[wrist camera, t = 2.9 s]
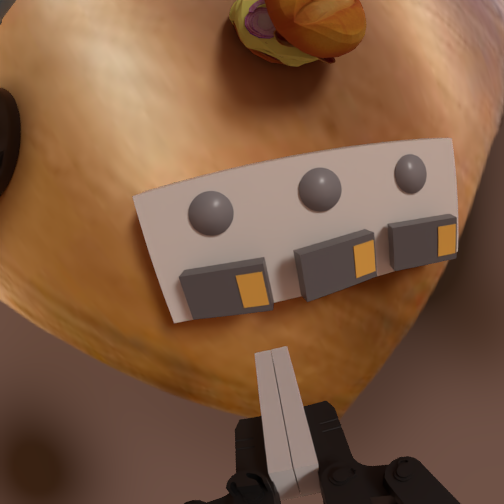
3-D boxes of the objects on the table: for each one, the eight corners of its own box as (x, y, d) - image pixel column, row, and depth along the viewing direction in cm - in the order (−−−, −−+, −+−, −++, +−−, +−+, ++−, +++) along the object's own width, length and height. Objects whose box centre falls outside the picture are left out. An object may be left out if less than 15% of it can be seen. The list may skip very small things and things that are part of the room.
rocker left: (197, 310, 25) (192, 320, 24) (184, 269, 24) (178, 277, 23) (273, 301, 24) (272, 310, 23) (264, 256, 23) (262, 264, 22)
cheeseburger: (241, -21, 20) (276, -72, 11) (331, 16, 23) (389, -14, 14) (212, 54, 22) (241, 11, 13) (313, 88, 26) (376, 72, 17)
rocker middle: (300, 295, 24) (307, 302, 23) (293, 250, 23) (300, 255, 22) (368, 271, 25) (377, 276, 24) (364, 228, 24) (374, 232, 23)
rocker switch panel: (180, 303, 30) (173, 324, 26) (146, 190, 26) (131, 196, 22) (437, 241, 30) (458, 252, 26) (429, 138, 26) (452, 137, 22)
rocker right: (389, 265, 25) (394, 271, 24) (387, 223, 24) (392, 228, 23) (449, 253, 24) (456, 258, 23) (449, 213, 23) (457, 217, 21)
